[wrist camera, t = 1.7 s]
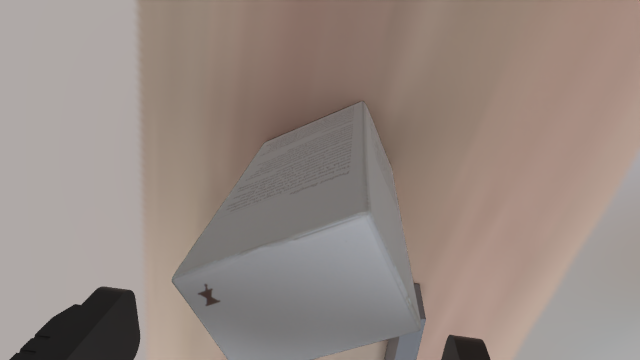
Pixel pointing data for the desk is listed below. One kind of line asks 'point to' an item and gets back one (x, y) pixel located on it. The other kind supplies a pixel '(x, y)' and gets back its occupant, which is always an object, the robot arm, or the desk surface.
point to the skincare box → (306, 249)
